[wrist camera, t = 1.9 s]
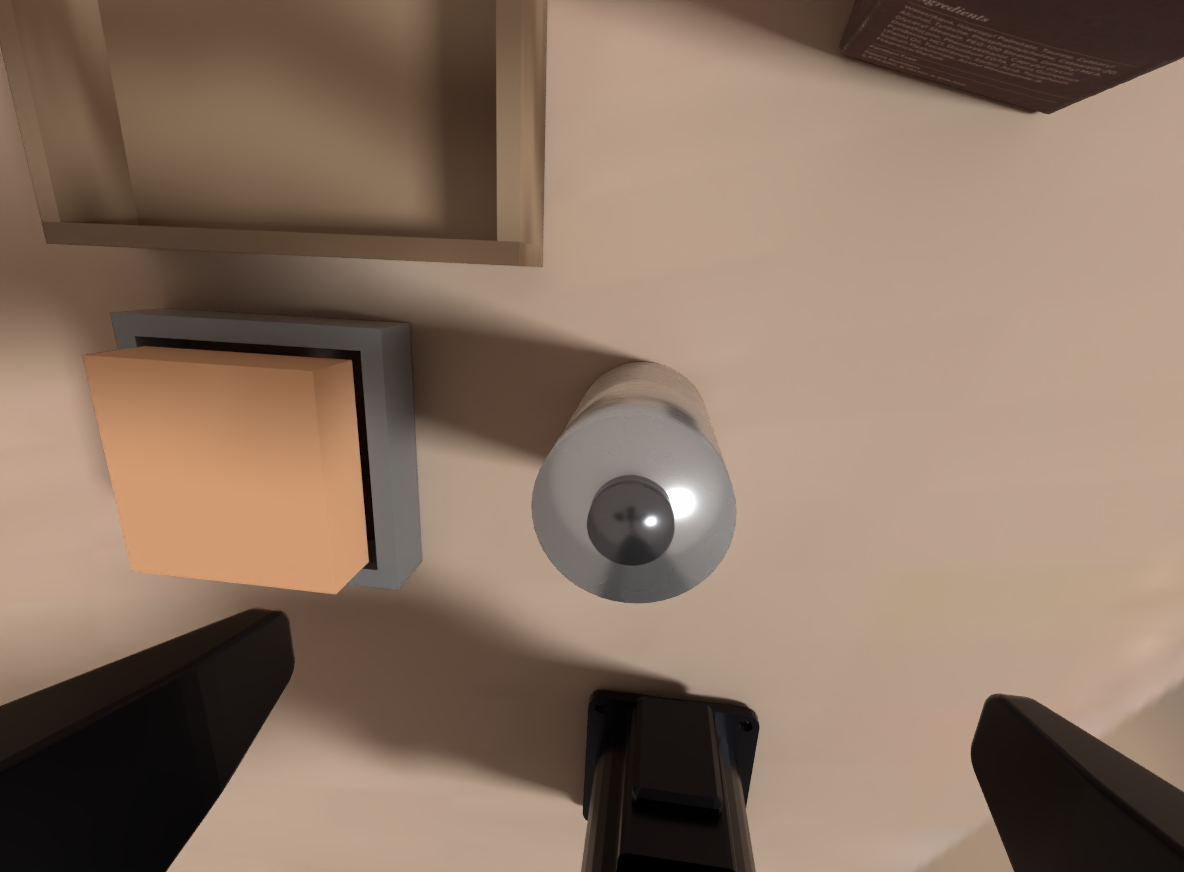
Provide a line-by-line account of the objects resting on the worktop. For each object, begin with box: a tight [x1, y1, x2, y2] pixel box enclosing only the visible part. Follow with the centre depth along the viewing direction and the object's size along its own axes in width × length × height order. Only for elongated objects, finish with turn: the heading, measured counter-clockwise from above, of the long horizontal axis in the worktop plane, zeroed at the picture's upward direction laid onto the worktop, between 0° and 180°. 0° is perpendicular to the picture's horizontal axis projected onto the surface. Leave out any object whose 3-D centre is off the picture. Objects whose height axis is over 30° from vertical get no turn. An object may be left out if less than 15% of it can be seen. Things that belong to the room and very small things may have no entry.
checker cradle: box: [110, 309, 422, 590], centre depth 19 cm, size 9×9×2 cm
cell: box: [532, 362, 736, 603], centre depth 15 cm, size 4×4×8 cm
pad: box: [82, 346, 369, 594], centre depth 17 cm, size 7×7×2 cm
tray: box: [0, 0, 547, 267], centre depth 15 cm, size 11×14×3 cm
